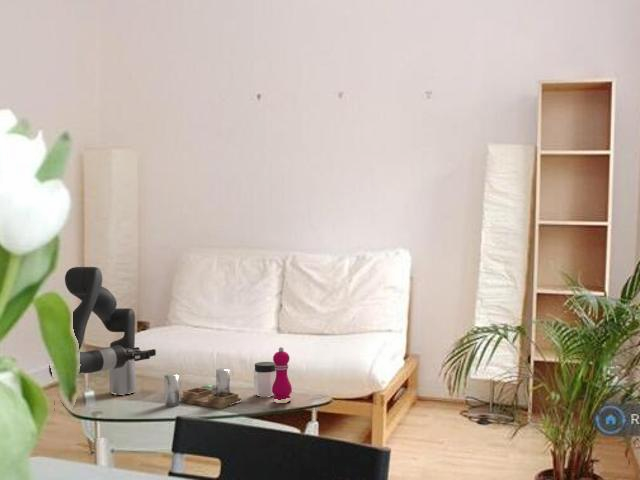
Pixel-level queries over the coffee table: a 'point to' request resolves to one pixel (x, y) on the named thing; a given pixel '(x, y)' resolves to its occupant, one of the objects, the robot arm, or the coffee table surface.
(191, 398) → the wooden tray
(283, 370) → the pepper mill
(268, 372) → the jar
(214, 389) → the grey square box
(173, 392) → the cylinder
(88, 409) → the coffee table surface
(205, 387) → the button
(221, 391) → the seated billet
